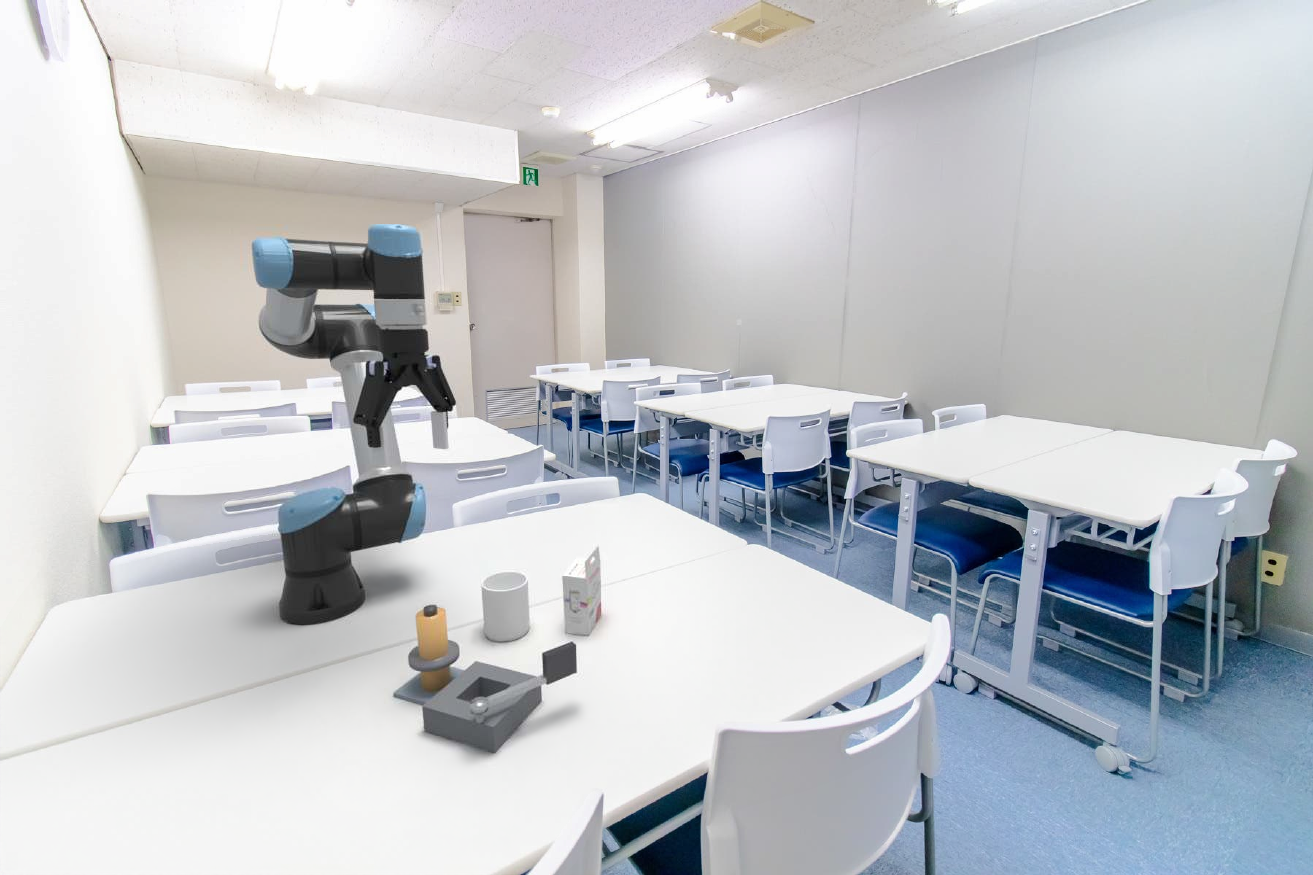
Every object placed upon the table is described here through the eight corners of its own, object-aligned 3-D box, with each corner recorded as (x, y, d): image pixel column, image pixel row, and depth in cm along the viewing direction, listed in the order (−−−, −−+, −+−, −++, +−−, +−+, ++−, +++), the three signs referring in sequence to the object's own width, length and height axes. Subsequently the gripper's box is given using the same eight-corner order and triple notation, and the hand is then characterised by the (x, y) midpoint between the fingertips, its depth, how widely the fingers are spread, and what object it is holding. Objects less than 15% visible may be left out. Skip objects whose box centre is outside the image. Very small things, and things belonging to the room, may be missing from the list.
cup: (483, 645, 108) (480, 592, 106) (486, 612, 120) (483, 565, 118) (530, 639, 110) (528, 588, 108) (529, 608, 122) (526, 561, 119)
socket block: (424, 730, 86) (421, 698, 85) (477, 683, 97) (475, 654, 96) (494, 752, 82) (492, 719, 81) (541, 700, 93) (540, 670, 92)
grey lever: (467, 709, 83) (465, 679, 82) (570, 666, 92) (569, 639, 91) (474, 718, 81) (472, 688, 80) (578, 674, 91) (578, 646, 90)
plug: (400, 691, 94) (392, 614, 92) (434, 664, 101) (428, 593, 99) (439, 702, 92) (432, 623, 89) (471, 674, 99) (466, 601, 96)
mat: (393, 696, 94) (393, 692, 94) (433, 665, 102) (433, 661, 102) (440, 709, 91) (440, 706, 91) (478, 676, 99) (477, 673, 99)
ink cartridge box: (578, 611, 120) (576, 541, 117) (602, 614, 119) (600, 544, 116) (563, 633, 112) (560, 559, 109) (588, 636, 111) (587, 562, 108)
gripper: (356, 330, 84) (371, 478, 88) (471, 325, 106) (478, 443, 111) (316, 329, 86) (332, 473, 91) (437, 325, 109) (445, 440, 113)
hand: (413, 457), depth 101 cm, fingers open, 13 cm apart
